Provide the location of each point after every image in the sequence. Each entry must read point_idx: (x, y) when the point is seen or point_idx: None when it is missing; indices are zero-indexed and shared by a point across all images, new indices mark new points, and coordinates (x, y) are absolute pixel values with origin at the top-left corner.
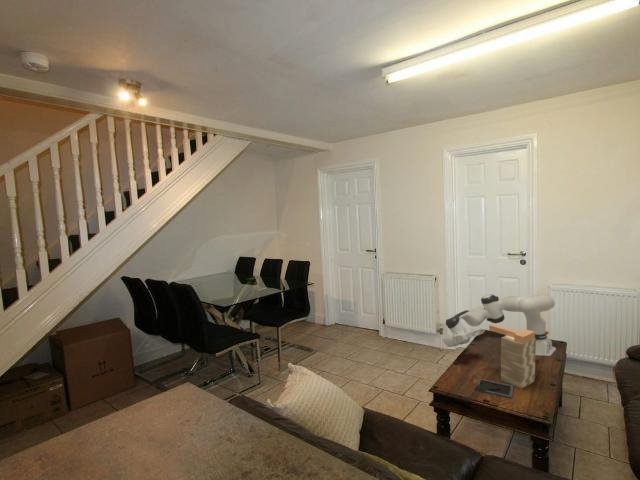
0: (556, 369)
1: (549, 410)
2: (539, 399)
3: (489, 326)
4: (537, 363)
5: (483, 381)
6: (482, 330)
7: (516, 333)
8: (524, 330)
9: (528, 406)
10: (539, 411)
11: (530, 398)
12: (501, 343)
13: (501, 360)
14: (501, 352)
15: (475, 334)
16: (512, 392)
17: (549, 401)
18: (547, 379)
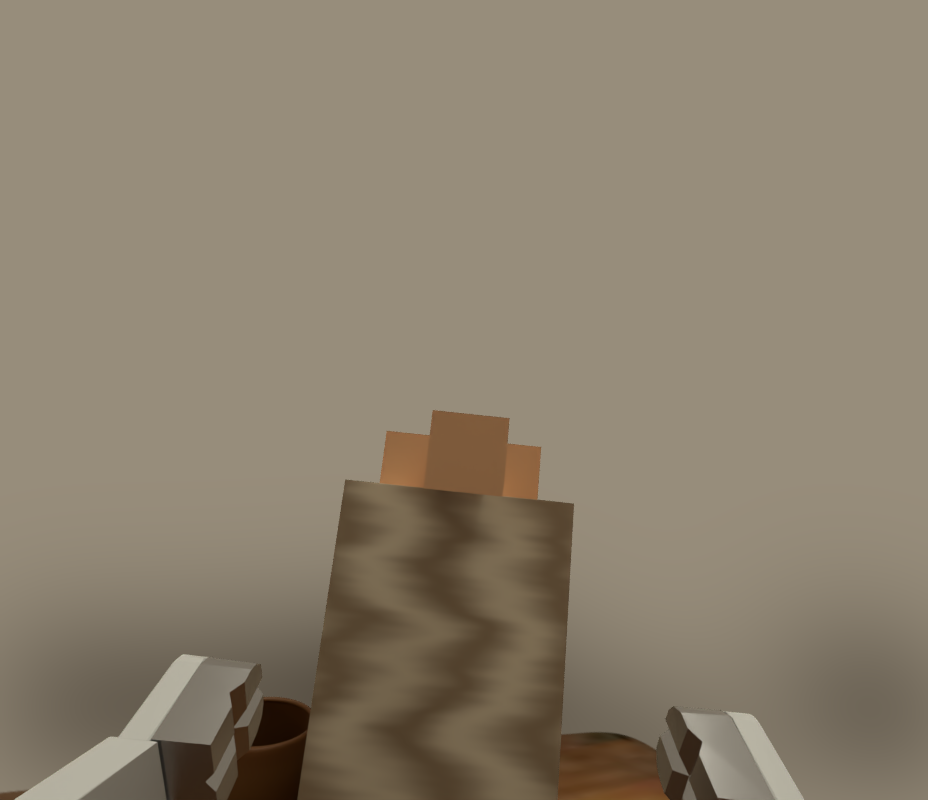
0: (14, 795)
1: (566, 735)
2: None
3: (507, 437)
4: (266, 708)
5: None
6: (256, 686)
7: (514, 444)
8: (416, 434)
9: (634, 780)
10: (615, 751)
11: (561, 793)
12: (570, 562)
13: (558, 755)
14: (563, 660)
15: (663, 742)
16: None
17: None
18: None
